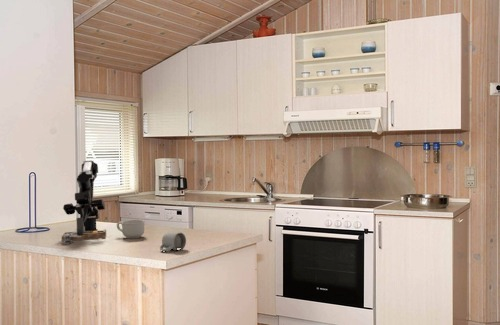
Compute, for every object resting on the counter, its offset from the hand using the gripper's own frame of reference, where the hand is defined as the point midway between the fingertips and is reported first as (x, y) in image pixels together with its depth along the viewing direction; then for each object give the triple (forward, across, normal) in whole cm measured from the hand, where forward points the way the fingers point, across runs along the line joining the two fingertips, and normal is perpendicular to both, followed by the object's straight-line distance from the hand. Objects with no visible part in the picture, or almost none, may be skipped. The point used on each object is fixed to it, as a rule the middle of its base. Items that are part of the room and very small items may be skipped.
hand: (83, 221), depth 253 cm
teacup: (+7, +20, +10) cm, 24 cm away
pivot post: (+11, -6, -1) cm, 13 cm away
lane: (+3, -2, +9) cm, 10 cm away
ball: (+3, +3, +10) cm, 11 cm away
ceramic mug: (+30, +44, -14) cm, 55 cm away
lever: (+6, -1, +1) cm, 6 cm away
